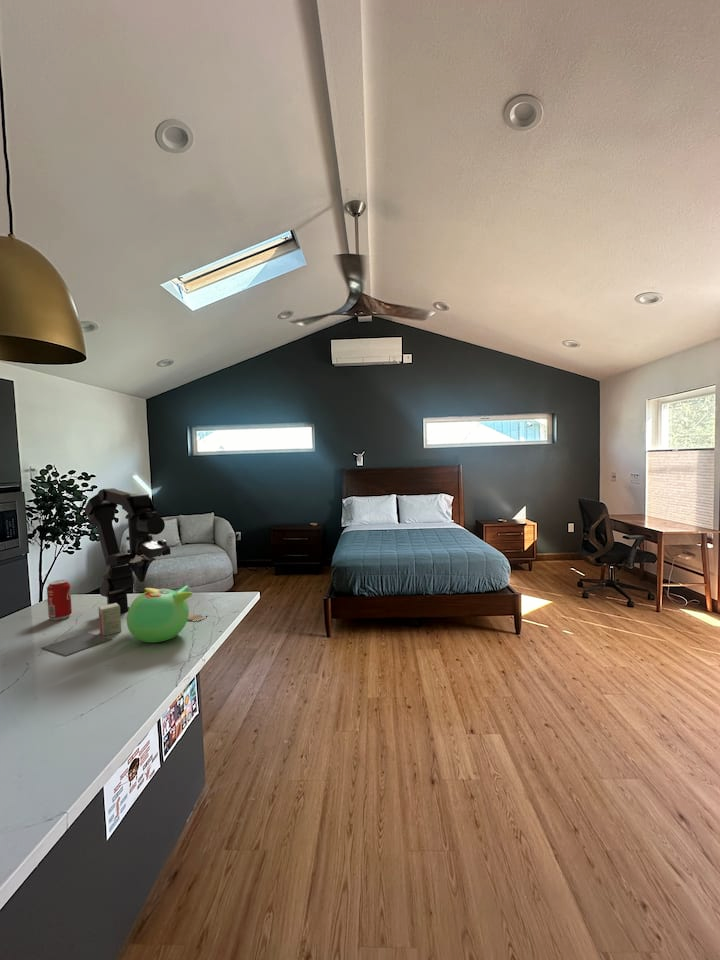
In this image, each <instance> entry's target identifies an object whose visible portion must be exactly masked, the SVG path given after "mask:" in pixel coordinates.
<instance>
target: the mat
mask: <svg viewBox="0 0 720 960" xmlns="http://www.w3.org/2000/svg"><path fill="white" fill-rule="evenodd" d="M111 640H112V638H111V637H107V636H105V635H104V636H102V635H99V634H95V633H92V632H88V631H86V632H83V633H80V634H77V635H74V636H72V637H68V638H65V639H62V640H59V641H57V642H56V641H55V642H53V643H50V644H48V645H44V646H41V649H42V650H46V651H47V652H48V651H49V652H51V653H54V652H55V654H58V655H61V656H65V657H67V656H70V655H74V654H76V653H79V652H81V651H85V650H86V649H90V648H93V647H95V646H98V645H100V644H103V643H106V642H109V641H111Z"/></svg>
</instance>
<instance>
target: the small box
mask: <svg viewBox="0 0 720 960" xmlns="http://www.w3.org/2000/svg"><path fill="white" fill-rule="evenodd" d="M98 619H99V621H98V622H99V633H100V634H101V635H100V636H104V637H105V636H108V635H111V634H116V633H120V632H122V621H121V619H122V618H121V613H120V606H119V604H117V603H113V604H109V605H107V604H105V605H100V606H98Z"/></svg>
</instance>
